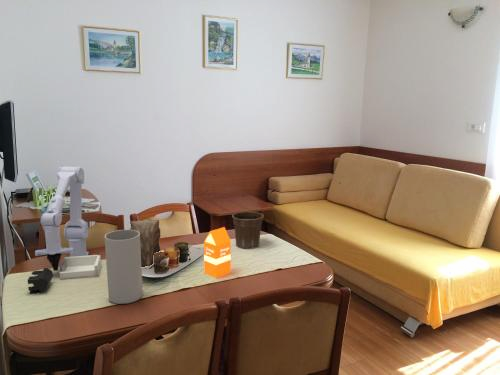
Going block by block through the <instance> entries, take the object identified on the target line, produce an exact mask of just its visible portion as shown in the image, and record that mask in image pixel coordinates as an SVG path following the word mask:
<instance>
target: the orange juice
mask: <svg viewBox="0 0 500 375" xmlns="http://www.w3.org/2000/svg"><path fill="white" fill-rule="evenodd" d="M231 245H232V244H231V238H230V237H229V234H228V232H227V230H226V227H225V226H223V227H220V228H217V229H213V230H210V231H209V232H208V234H207V236H206V238H205V239H204V242H203V254H204V255H203V260H204V261H203V262H204V267H203V268H204V269H203V270H204V274H205V275H208V276H210V277H212V278H216V279H217V278H220V277H223V276H225V275H227V274H231V272H232V269H231V266H232V264H231V263H232V262H231V261H232V257H231V256H232V255H231V254H232V253H231V252H232V251H231V250H232V249H231V248H232V246H231Z"/></svg>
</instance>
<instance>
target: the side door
mask: <svg viewBox="0 0 500 375" xmlns="http://www.w3.org/2000/svg"><path fill="white" fill-rule="evenodd" d="M66 268H67V262H66V259H65V258H64V259H63V260H62V262H61V264H60V267H58V270H57V273H58V274H60V272H65V270H66Z"/></svg>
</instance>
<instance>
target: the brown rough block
mask: <svg viewBox="0 0 500 375" xmlns="http://www.w3.org/2000/svg"><path fill="white" fill-rule="evenodd" d="M129 223H130V228H129V230H135V231H138V232H139V233H140V247H141V267H145V266H150V265H152V264H153V255H154V253H156V252H159V251H160V252H161V246H160V242H159V241H160V239H161V228H160V226H159V225H160V220H159V219H156V220H155V219H149V218H146V219H143V220H137V221H136V220H132V221H130V222H129Z"/></svg>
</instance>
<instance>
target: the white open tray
mask: <svg viewBox="0 0 500 375" xmlns="http://www.w3.org/2000/svg"><path fill="white" fill-rule="evenodd" d="M101 257H102V256H101V254H92V255H90V254H88V256H75V257H70V256H64V259H66V262H67V268H66V270H65V272H60V273H59V280H60V281H61V280H63V281H65V280H74V279H84V278H85V279H86V278H98V277H99V275H100V271H101V267H102V258H101Z"/></svg>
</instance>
